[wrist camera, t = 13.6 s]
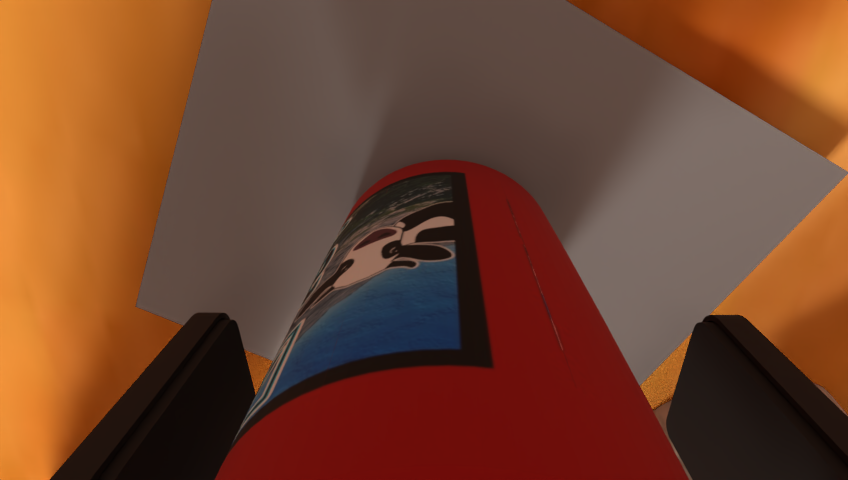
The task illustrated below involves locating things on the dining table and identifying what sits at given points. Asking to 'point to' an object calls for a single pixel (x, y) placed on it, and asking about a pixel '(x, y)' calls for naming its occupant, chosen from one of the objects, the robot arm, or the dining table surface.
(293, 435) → the beverage can
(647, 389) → the dining table surface
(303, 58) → the slate board
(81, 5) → the dining table surface
